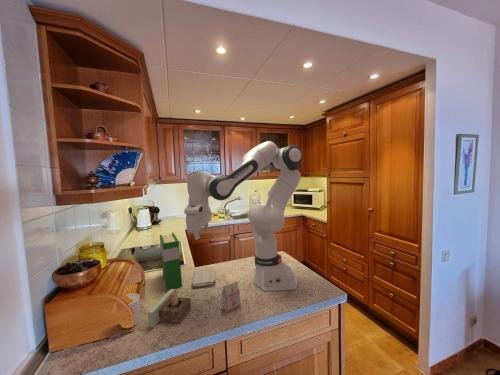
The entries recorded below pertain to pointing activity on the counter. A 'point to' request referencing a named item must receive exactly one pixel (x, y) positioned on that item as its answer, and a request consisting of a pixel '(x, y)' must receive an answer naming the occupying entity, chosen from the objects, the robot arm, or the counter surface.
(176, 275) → the hardback book
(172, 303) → the dowel
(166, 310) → the block
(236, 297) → the tea bag
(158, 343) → the counter surface
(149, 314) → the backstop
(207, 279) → the washcloth
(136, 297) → the white cup
